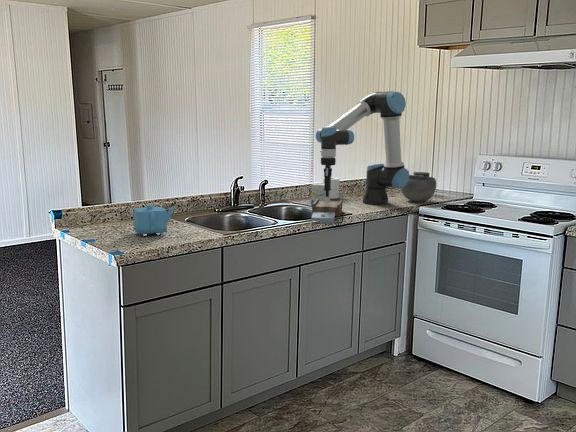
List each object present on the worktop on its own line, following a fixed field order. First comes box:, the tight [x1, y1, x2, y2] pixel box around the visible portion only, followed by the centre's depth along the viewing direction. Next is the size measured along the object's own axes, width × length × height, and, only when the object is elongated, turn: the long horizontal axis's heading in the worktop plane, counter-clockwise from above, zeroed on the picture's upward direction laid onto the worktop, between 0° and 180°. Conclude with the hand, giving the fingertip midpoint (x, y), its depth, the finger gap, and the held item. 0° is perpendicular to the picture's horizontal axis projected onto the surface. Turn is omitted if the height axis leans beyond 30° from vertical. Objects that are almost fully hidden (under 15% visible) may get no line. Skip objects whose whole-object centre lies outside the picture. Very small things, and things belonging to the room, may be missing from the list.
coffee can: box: [412, 171, 430, 177], centre depth 370 cm, size 10×10×14 cm
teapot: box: [132, 204, 178, 235], centre depth 244 cm, size 18×16×13 cm
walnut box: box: [311, 199, 343, 216], centre depth 298 cm, size 14×18×6 cm
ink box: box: [310, 182, 325, 206], centre depth 327 cm, size 9×8×12 cm
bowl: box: [400, 174, 437, 203], centre depth 341 cm, size 20×20×15 cm
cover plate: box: [310, 212, 336, 224], centre depth 281 cm, size 11×16×4 cm
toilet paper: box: [322, 176, 341, 200], centre depth 351 cm, size 10×10×12 cm
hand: (327, 202), depth 292 cm, fingers closed
